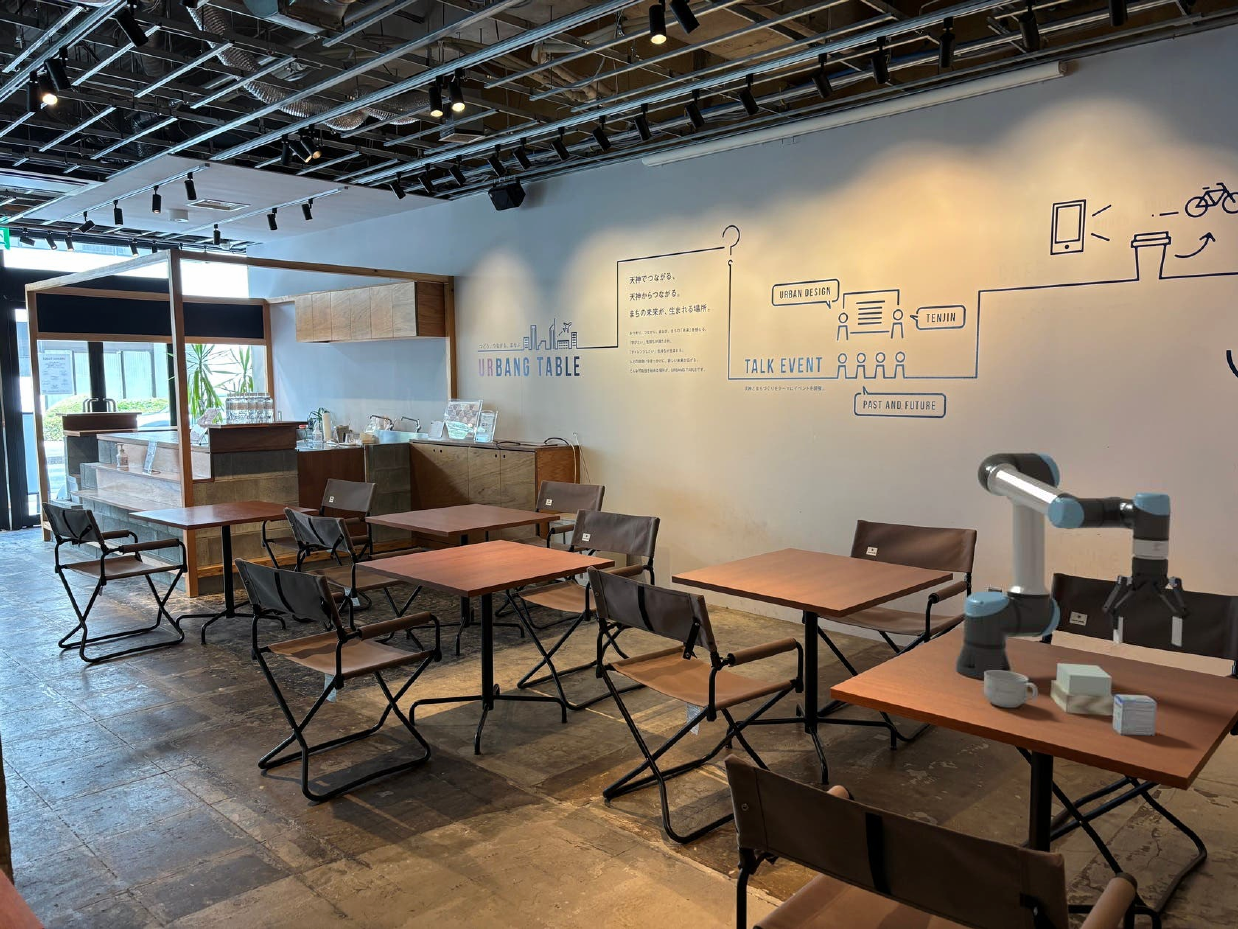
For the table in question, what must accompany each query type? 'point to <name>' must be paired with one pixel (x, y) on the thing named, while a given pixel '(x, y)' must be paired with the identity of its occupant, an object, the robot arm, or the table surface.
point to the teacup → (1007, 688)
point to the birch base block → (1081, 701)
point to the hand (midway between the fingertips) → (1147, 644)
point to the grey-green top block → (1084, 679)
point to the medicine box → (1134, 715)
